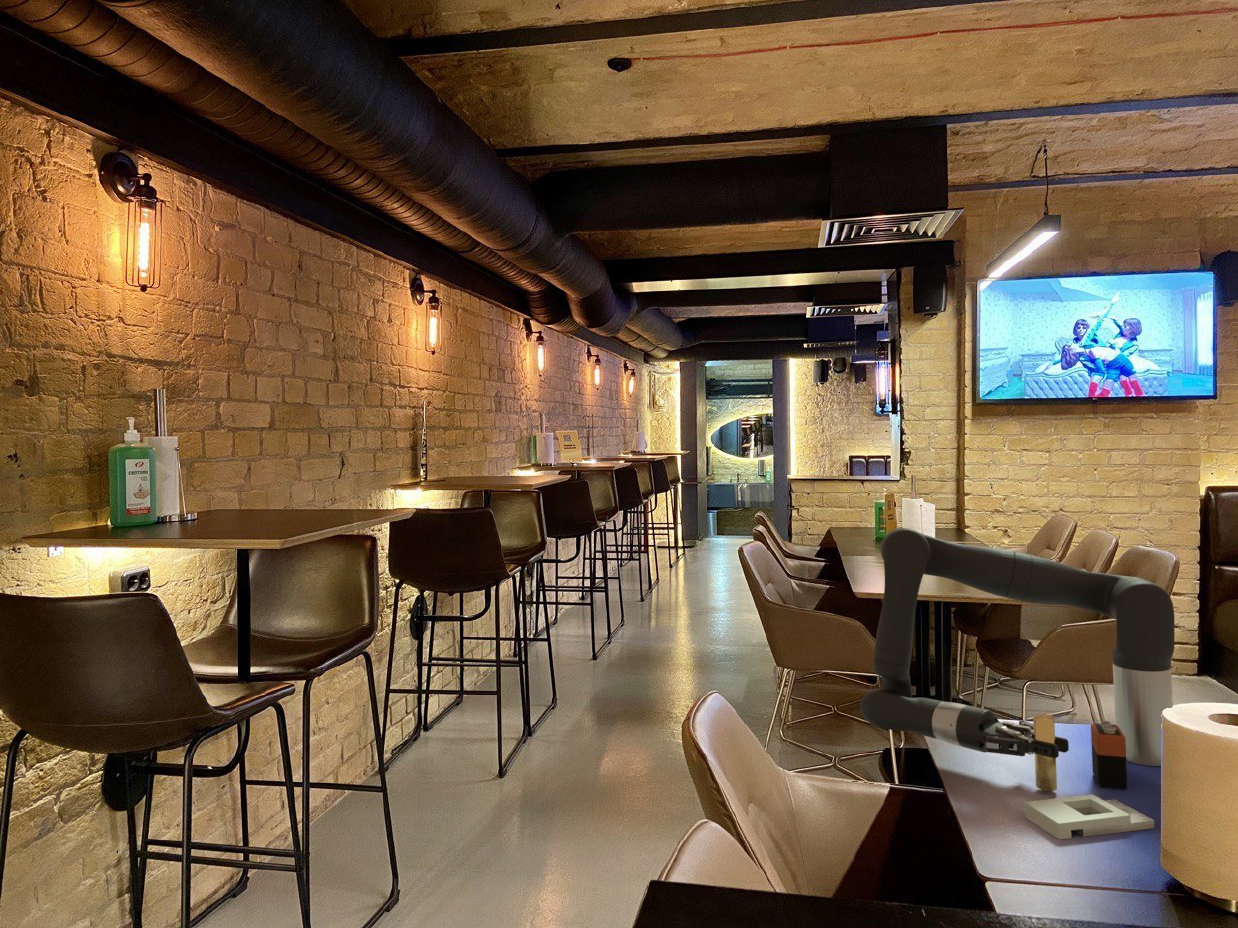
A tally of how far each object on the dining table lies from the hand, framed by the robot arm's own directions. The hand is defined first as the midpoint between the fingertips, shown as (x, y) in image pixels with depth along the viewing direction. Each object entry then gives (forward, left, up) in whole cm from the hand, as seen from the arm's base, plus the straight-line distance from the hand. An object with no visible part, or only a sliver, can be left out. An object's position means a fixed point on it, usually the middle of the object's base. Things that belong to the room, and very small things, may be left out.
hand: (1062, 748), depth 137 cm
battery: (-11, -4, -8) cm, 15 cm away
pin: (+1, -2, -7) cm, 8 cm away
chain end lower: (+1, +10, -8) cm, 12 cm away
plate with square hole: (+5, +10, -8) cm, 13 cm away
